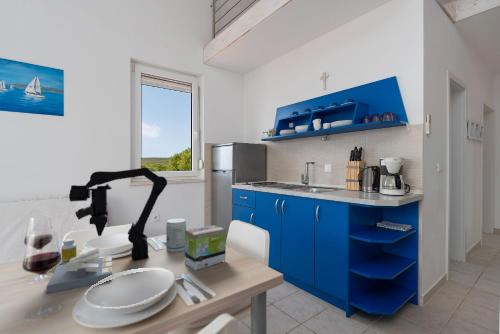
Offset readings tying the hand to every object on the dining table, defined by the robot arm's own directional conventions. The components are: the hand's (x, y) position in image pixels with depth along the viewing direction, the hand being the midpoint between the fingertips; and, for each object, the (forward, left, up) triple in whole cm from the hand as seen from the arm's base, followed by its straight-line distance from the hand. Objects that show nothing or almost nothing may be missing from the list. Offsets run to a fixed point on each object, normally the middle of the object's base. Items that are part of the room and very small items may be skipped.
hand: (99, 235), depth 107 cm
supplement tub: (-33, -1, -12) cm, 35 cm away
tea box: (-40, +23, -12) cm, 48 cm away
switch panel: (+5, +11, -12) cm, 17 cm away
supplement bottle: (+12, -9, -12) cm, 19 cm away
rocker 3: (+5, +17, -6) cm, 19 cm away
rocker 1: (+5, +5, -6) cm, 10 cm away
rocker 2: (+5, +11, -6) cm, 14 cm away
